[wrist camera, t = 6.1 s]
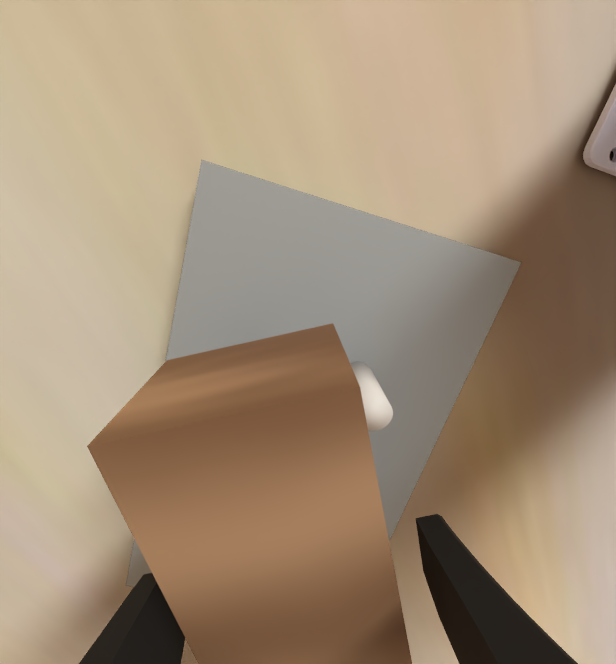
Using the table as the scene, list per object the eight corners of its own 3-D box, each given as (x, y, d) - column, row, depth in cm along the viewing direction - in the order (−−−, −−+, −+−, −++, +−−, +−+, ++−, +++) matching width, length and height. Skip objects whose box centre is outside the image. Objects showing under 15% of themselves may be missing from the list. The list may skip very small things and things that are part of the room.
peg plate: (502, 259, 13) (590, 273, 9) (348, 596, 19) (363, 694, 15) (209, 166, 12) (168, 136, 8) (136, 562, 18) (90, 661, 14)
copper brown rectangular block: (389, 601, 13) (428, 751, 9) (268, 625, 13) (260, 783, 10) (333, 323, 10) (359, 387, 6) (167, 360, 10) (86, 446, 6)
